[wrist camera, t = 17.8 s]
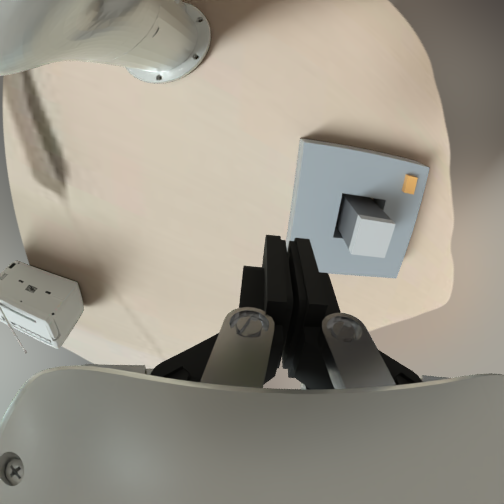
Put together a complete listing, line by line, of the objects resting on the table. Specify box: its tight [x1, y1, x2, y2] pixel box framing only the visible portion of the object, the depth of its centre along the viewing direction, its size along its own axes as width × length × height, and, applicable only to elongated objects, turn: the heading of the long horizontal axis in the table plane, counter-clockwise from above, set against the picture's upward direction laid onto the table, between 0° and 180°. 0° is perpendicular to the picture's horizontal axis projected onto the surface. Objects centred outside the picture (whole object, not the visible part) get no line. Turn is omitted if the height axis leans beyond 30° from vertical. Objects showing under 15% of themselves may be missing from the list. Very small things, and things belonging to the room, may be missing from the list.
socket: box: [286, 138, 429, 278], centre depth 38 cm, size 18×18×5 cm
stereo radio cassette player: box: [0, 261, 84, 354], centre depth 41 cm, size 21×8×20 cm, turn 76°
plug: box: [336, 193, 396, 258], centre depth 36 cm, size 5×5×10 cm
